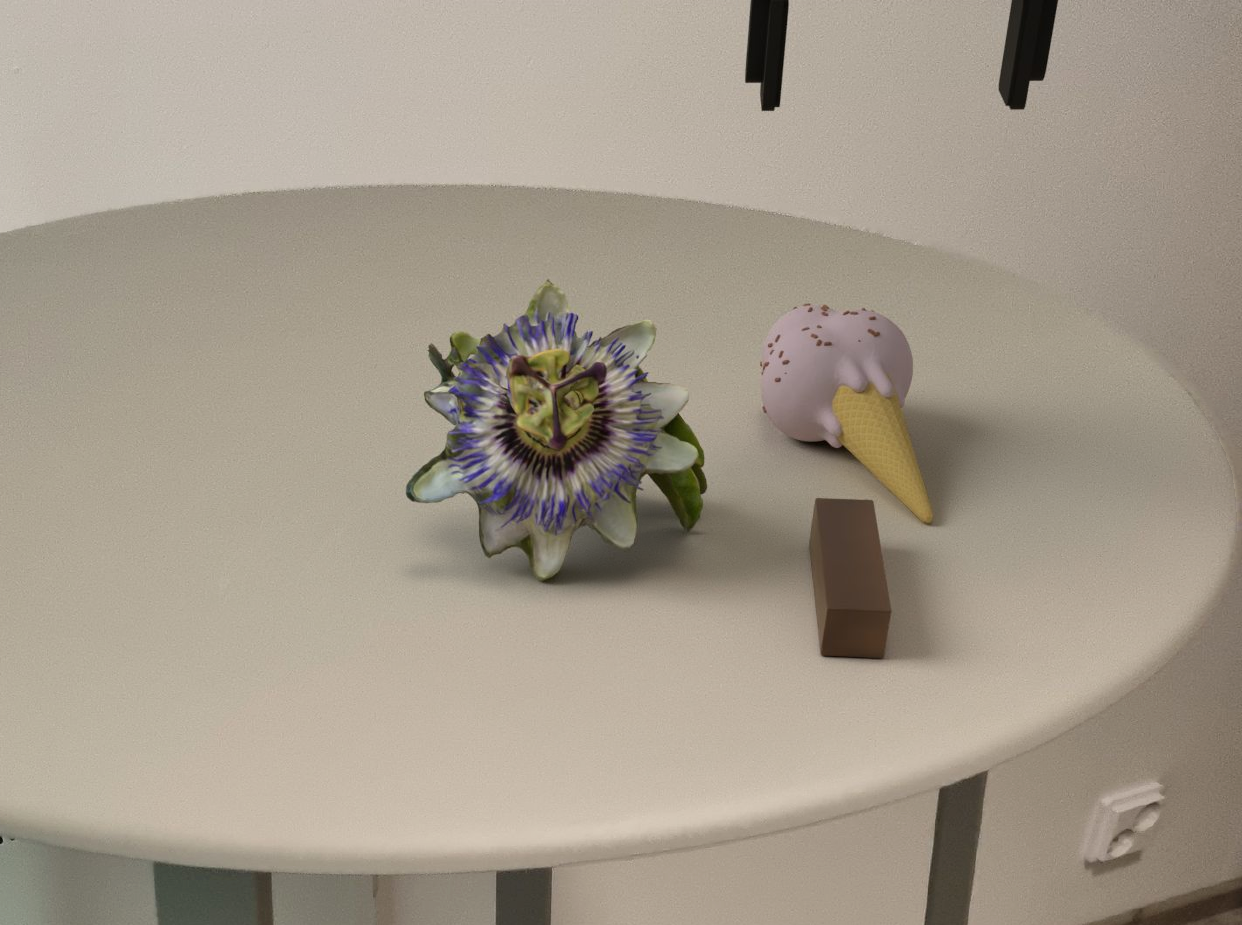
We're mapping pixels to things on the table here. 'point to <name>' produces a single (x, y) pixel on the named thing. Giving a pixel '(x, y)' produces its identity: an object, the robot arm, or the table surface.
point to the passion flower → (558, 434)
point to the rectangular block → (849, 579)
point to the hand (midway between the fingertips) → (889, 101)
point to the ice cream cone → (846, 391)
